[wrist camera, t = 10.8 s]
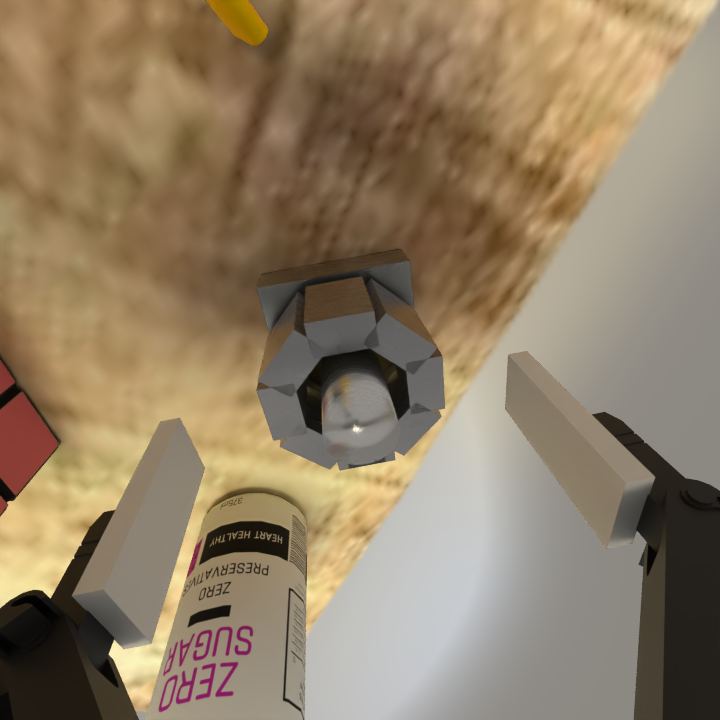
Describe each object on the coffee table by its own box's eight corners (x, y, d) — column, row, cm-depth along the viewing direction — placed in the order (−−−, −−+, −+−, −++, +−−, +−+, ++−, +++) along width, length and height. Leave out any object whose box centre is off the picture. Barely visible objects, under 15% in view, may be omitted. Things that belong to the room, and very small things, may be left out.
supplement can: (263, 566, 35) (233, 821, 22) (182, 527, 31) (89, 801, 18) (327, 518, 33) (337, 769, 20) (248, 470, 29) (196, 736, 16)
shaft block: (261, 273, 22) (225, 366, 13) (400, 248, 22) (461, 323, 13) (294, 389, 26) (284, 522, 17) (412, 367, 26) (465, 488, 17)
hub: (253, 295, 19) (236, 337, 15) (413, 267, 19) (440, 300, 15) (291, 422, 23) (286, 483, 19) (424, 398, 23) (448, 452, 19)
